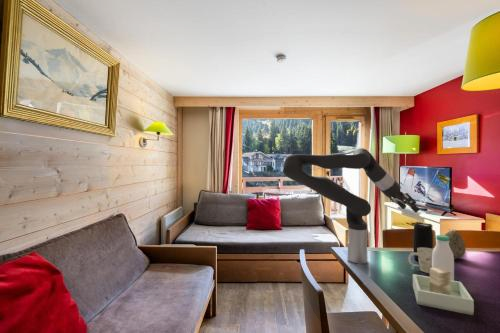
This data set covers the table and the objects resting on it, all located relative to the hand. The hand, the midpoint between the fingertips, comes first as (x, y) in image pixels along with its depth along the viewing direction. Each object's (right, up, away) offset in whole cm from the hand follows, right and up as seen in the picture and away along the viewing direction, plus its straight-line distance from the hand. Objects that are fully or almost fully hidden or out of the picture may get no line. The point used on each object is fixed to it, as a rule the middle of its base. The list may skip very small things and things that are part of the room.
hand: (410, 209), depth 118 cm
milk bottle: (+11, -31, -5) cm, 33 cm away
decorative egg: (+38, -31, +24) cm, 54 cm away
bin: (-1, -31, -19) cm, 36 cm away
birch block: (-1, -30, -19) cm, 35 cm away
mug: (+10, -31, +8) cm, 33 cm away
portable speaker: (+19, -31, +21) cm, 42 cm away
